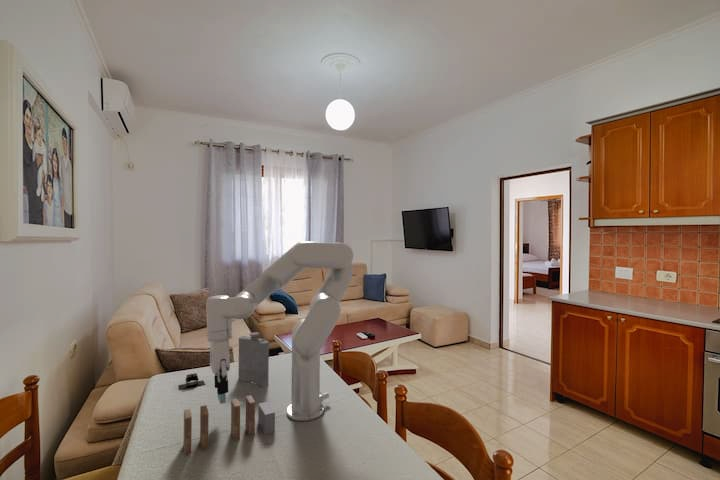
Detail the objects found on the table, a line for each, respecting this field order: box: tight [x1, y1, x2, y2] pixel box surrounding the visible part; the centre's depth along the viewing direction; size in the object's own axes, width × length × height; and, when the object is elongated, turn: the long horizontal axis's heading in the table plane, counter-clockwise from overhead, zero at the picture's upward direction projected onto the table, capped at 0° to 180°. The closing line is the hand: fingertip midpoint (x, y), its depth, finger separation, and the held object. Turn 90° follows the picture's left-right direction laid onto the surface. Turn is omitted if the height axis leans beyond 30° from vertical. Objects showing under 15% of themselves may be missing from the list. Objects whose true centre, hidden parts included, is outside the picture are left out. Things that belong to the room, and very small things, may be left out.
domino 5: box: [245, 394, 256, 437], centre depth 104 cm, size 2×5×10 cm, turn 31°
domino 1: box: [183, 408, 193, 455], centre depth 95 cm, size 2×5×10 cm, turn 31°
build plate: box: [177, 372, 206, 391], centre depth 137 cm, size 12×7×5 cm, turn 122°
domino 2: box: [199, 404, 209, 451], centre depth 97 cm, size 2×5×10 cm, turn 31°
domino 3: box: [217, 370, 227, 405], centre depth 110 cm, size 2×5×10 cm, turn 31°
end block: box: [257, 401, 276, 435], centre depth 107 cm, size 3×8×6 cm, turn 31°
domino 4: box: [230, 398, 241, 441], centre depth 102 cm, size 2×5×10 cm, turn 31°
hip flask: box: [238, 331, 270, 388], centre depth 141 cm, size 16×4×20 cm, turn 60°
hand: (221, 389), depth 110 cm, fingers closed on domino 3, 4 cm apart
